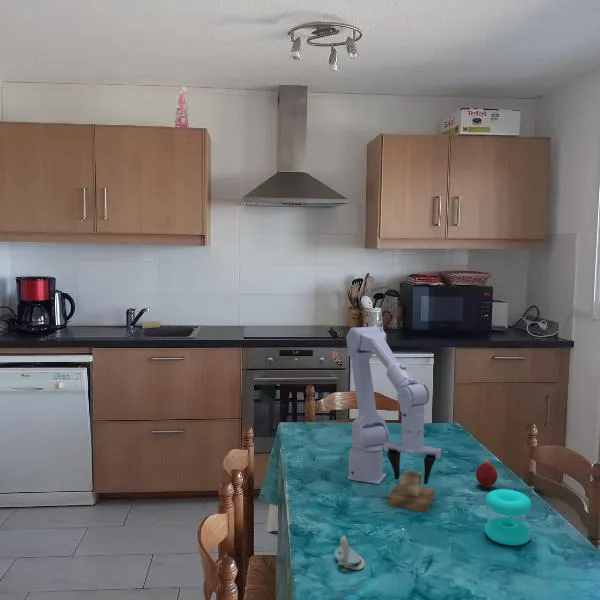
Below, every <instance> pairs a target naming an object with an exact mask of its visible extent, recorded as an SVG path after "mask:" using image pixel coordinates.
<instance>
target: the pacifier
mask: <svg viewBox="0 0 600 600" xmlns="http://www.w3.org/2000/svg"><path fill="white" fill-rule="evenodd" d="M339 543H340V545H339V546H337V547H336V548H335V550H334V556H335V558H336V560H337V561H338V562H337V564H338V565H341V566H342V565H343V566H344V567H343V566H342V567H343V568H346V569H352V570H354V571H355V570H356V571H359V570H362V569H363V568H364V567H365V565H366V562H365V559H363V557H362V556H360V555H359V554H358V553H357V552H356V551H355V549H353V548H352V547H350V546H349V542H348V539H347V537H346V535H342V536H341V537H340V540H339ZM359 563H360V564H359ZM356 564H359V565H356Z"/></svg>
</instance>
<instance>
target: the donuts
mask: <svg viewBox="0 0 600 600" xmlns="http://www.w3.org/2000/svg"><path fill="white" fill-rule="evenodd" d="M485 502H486V505H487V507H488V508H489V509H490V510H491V511H493V512H494V513H496V514H499V515H502V516H501V517H500V516H499V517H493V518H490V520H488V521H487V522H486V523H485V526H484V532H485V534H486V535H487V537H488V538H489V539H490V540H491V541H493V542H495V543H497V544H501V545H505V546H522V545H526V543H528V542H529V540H530V539H531V530H530V529H529V527H528V526H527V525H526V524H525V523H524V522H522V521H520V520H518V519H516V518H513V517H520V516H523V515H524V516H525V514H527V513H529V512H530V511H531V509H532V501H531V499H530V498H529V496H527V495H526V494H524V493H523V492H520V491H517V490H512V489H507V488H505V489H504V488H503V489H502V488H499V489H494V490H491V491H489V492H488V493H487V495H486V496H485ZM506 516H507V517H506Z"/></svg>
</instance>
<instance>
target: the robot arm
mask: <svg viewBox="0 0 600 600" xmlns="http://www.w3.org/2000/svg"><path fill="white" fill-rule="evenodd" d="M345 338H346V346H347V352H348V354H347V355H348V356H349V357H350V360H351V361H350V362H351V368H352V375H353V383H354V389H355V390H354V391H355V396H356V397H355V398H356V404H357V410H358V416H356V418H355V419H354V420H353V421H352V422H351V437H350V438H351V441H352V442H351V443H352V444H353V445H352V446H351V447H350V449H349V452H348V476H347V480H352V481H357V482H361V483H362V482H363V483H369V484H376V485H379V484H381V482H382V481H383V480H384V479H385V478H386V476H387V473H385V472H383V455H384V454H383V451H384V452H387V458H388V460H389V462H390V465H391V468H392V470H393V474H394V480H397V481H398V480H399V479H400V478H401V469H400V468H401V467H400V461H401V453H406V454H411V455H412V454H413V455H420V456H425V457H424V458H423V463H424V465H423V467H424V474H423V475H424V477H423V485H427V484H428V483H429V479H430V474H431V472H432V468H433V466H434V464H435V462H436V459H440V458H441V456H442V449H441V448H439V447H434V446H430V445H424V441H425V439H424V438H425V437H424V435H425V434H424V433H425V432H424V431H425V429H424V428H425V425H424V424H425V405H427V404H428V403H429V400H430V391H429V388H428V387H427V385H426V383H424V382H420V380H418V379H417V380H416V378H415V377H414V376H413V374H412V372H411V371H410V370H409V368H408V367H407V365H406V363H403V362H399V361H398V360H397V357H395V355H394V352H393V351H392V349H391V348H390V346H389V344H388V343H387V333H386V332H385V331H384V329H383V327H382V326H380V325H375V326H365V327H364V326H361V327H355V326H353V327H350V329H349V330H348V332H347V335H346V336H345ZM373 355H374V356H376V357H377V359H378V360H379V361H380V362H381V363H382V365H383V366H384V367H385V368H386V369H387V370H386V377H387V379H388V380H389V381H390V383H391V384H392V386H393V387H394V389H395V390H396V391H397V395H396V396H397V398H396V399H397V402H398V404H399V410H400V413H401V435H400V436H401V442H400V441H399V442H397V441H389V439H390V432H389V429H388V427H387V424H386V420H385V418H384V417H383V416H381V415H380V414H378V412H377V404H376V398H375V391H374V384H373V383H374V382H373V378H372V370H371V365H370V359H371V358H372V356H373Z"/></svg>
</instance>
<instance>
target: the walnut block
mask: <svg viewBox="0 0 600 600" xmlns="http://www.w3.org/2000/svg"><path fill="white" fill-rule="evenodd" d="M434 499H435V488H430V487H423V486H422V491H421V493H420V494H419V496H418V497H414V496H408V495H401V483H397V484H396V485H395V486H394V488H393V489H392V490H391V492H389V494H388V495H387V507H393V508H397V509H401V510H402V509H403V510H407V511H408V510H409V511H415V512H421V513H427V512H428V510H429V508H430V506H431V504H432V503H433V501H434Z"/></svg>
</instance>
